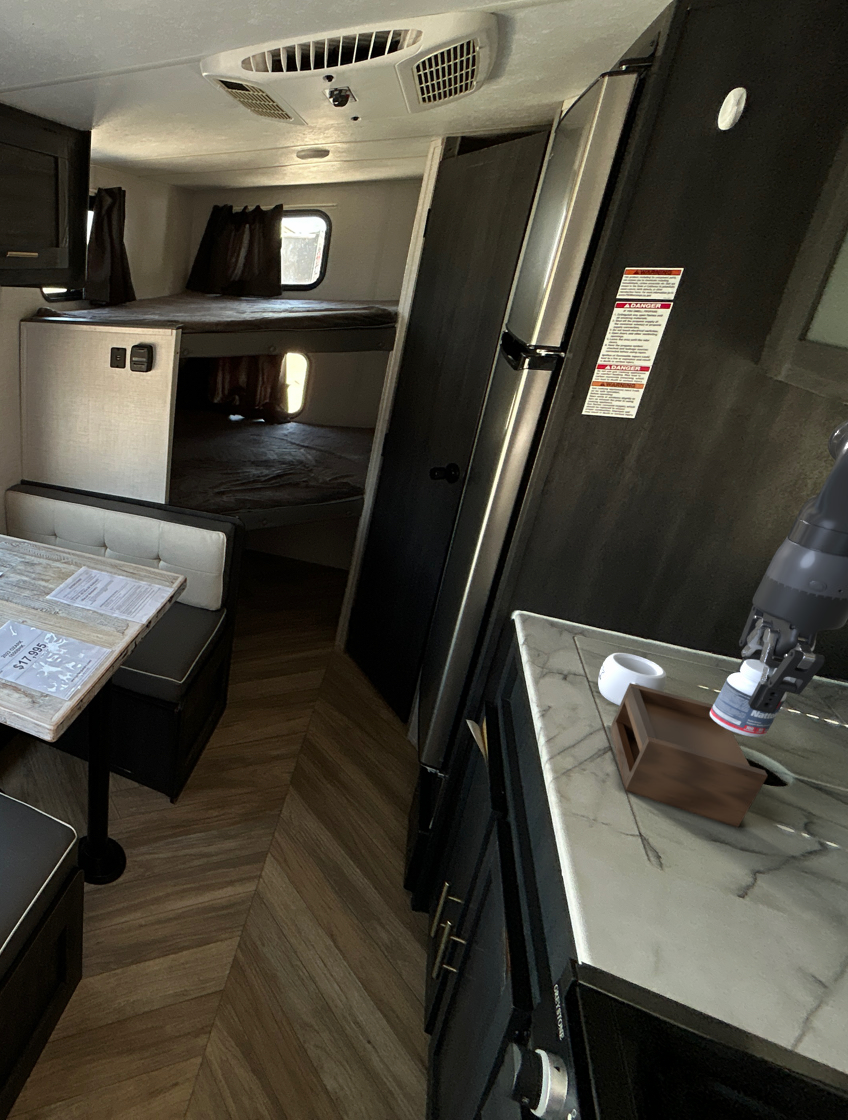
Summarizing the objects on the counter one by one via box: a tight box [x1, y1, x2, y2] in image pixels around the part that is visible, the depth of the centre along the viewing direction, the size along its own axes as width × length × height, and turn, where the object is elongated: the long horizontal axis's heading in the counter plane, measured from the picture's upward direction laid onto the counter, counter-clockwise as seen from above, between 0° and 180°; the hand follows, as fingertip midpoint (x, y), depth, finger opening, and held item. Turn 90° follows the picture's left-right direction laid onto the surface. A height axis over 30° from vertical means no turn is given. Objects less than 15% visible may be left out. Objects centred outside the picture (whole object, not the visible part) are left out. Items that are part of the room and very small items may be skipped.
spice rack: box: [609, 683, 768, 829], centre depth 95 cm, size 12×16×10 cm
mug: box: [597, 652, 668, 706], centre depth 110 cm, size 12×8×8 cm
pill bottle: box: [710, 659, 788, 738], centre depth 81 cm, size 5×5×9 cm
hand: (751, 696), depth 81 cm, fingers closed on pill bottle, 5 cm apart
